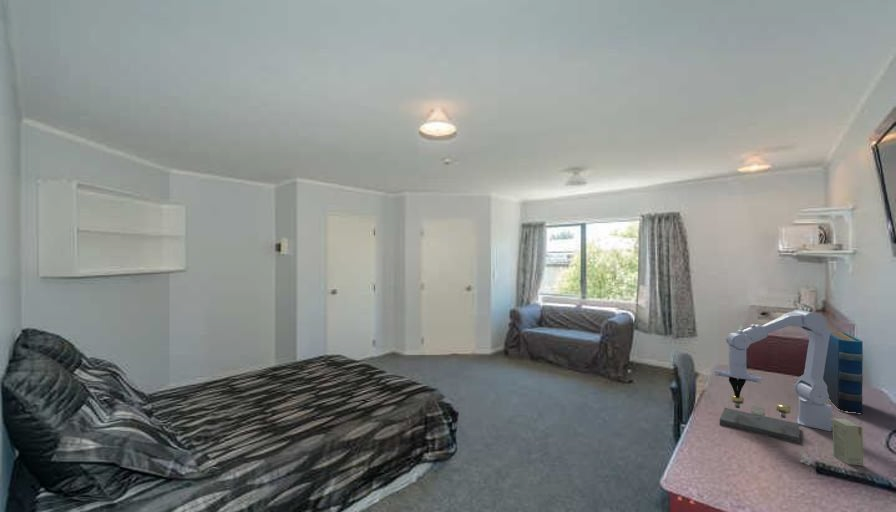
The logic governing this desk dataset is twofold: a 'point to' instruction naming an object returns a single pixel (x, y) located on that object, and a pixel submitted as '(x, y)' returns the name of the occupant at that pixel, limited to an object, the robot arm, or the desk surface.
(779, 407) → the inner brass knob
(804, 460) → the adhesive hook
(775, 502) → the desk surface
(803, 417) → the robot arm
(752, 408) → the middle white knob
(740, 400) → the outer brass knob
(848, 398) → the book
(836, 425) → the skincare box
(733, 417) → the plate
